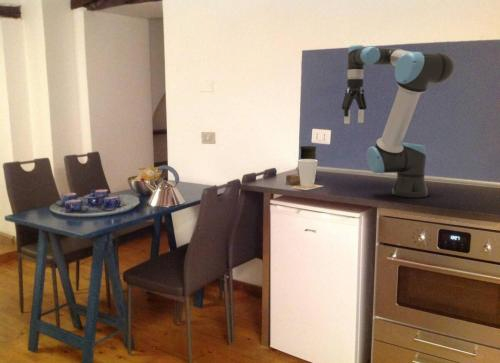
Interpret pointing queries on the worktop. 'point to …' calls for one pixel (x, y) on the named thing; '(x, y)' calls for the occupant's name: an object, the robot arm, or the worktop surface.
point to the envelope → (306, 188)
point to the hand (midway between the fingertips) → (354, 123)
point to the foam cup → (307, 172)
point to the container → (308, 153)
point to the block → (293, 179)
